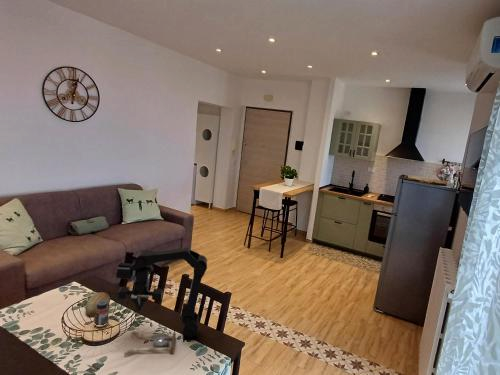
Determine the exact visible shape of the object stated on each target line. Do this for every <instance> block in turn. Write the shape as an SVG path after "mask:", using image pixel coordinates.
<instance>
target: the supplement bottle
mask: <svg viewBox="0 0 500 375" xmlns="http://www.w3.org/2000/svg"><path fill="white" fill-rule="evenodd" d="M109 310H110V308H109V304H108V305H107V302H106V301H99V302H98V303H97V306H96V307H95V316H94V320H93V323H95V324H96V325H104V324H106V323H108V324H109V312H110V311H109Z"/></svg>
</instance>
